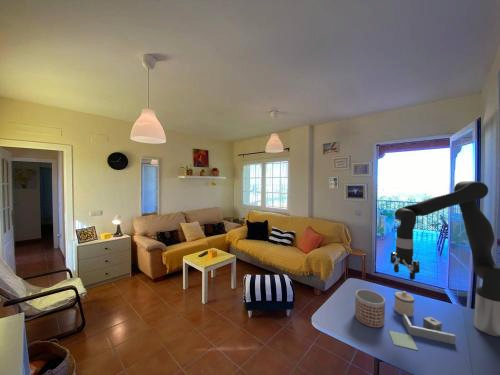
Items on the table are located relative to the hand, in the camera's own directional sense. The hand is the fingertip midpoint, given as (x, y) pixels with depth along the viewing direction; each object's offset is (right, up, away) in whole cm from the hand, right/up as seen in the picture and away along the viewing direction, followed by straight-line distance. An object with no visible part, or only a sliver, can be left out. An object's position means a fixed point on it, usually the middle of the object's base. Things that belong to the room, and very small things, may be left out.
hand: (403, 275), depth 112 cm
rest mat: (-11, -24, -14) cm, 30 cm away
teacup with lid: (+4, -23, +7) cm, 25 cm away
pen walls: (+5, -24, -9) cm, 26 cm away
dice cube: (+8, -24, -8) cm, 27 cm away
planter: (-19, -24, 0) cm, 30 cm away
